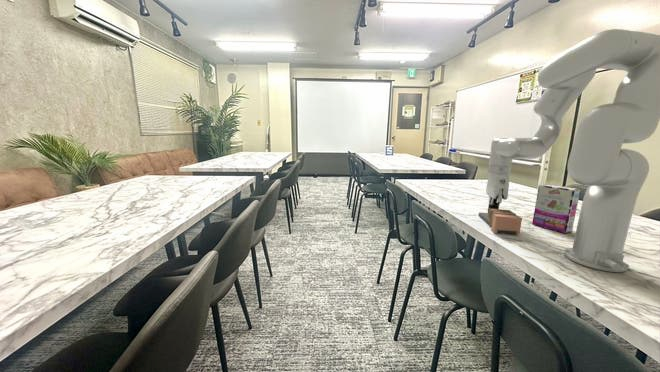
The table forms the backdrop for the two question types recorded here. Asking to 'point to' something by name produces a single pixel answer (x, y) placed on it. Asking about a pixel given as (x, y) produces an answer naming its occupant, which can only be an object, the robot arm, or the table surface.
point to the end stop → (506, 224)
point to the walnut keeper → (498, 211)
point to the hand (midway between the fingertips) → (492, 214)
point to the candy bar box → (556, 207)
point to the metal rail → (485, 217)
